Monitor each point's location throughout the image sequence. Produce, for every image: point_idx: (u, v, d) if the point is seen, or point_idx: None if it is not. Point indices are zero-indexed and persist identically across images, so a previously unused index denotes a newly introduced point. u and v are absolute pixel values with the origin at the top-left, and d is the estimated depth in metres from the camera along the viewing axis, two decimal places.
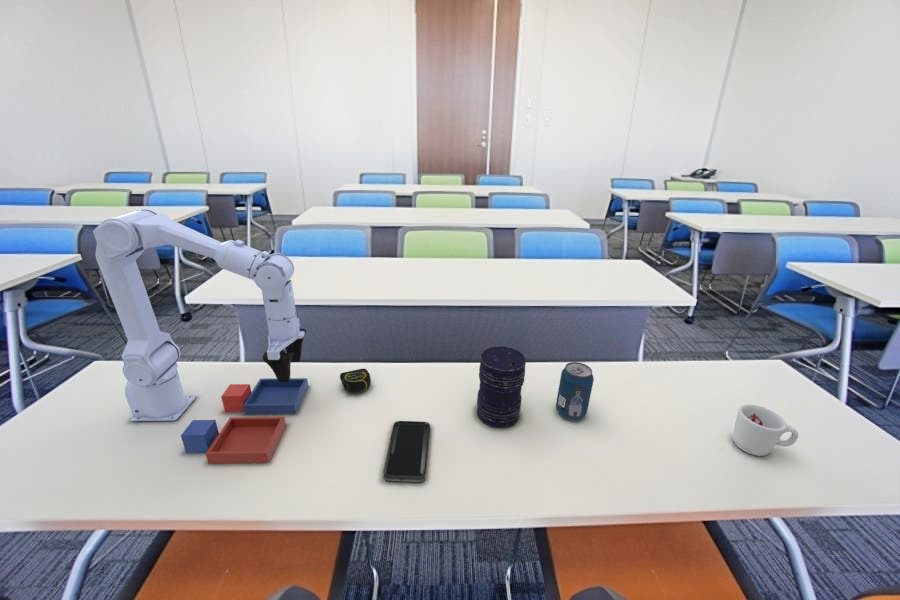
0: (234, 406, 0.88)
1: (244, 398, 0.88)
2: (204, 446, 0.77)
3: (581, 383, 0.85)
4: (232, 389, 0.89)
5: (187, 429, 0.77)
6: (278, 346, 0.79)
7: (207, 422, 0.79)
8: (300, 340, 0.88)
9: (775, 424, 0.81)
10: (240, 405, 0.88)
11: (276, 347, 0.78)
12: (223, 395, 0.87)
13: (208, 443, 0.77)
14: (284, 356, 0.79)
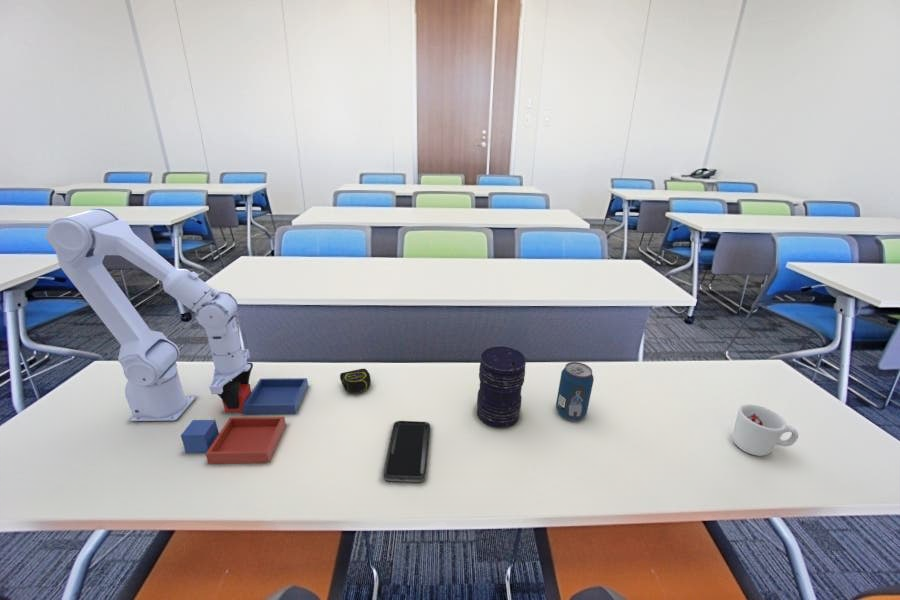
0: None
1: (244, 398, 0.88)
2: (204, 446, 0.77)
3: (581, 383, 0.85)
4: None
5: (187, 429, 0.77)
6: (222, 380, 0.82)
7: (207, 422, 0.79)
8: (246, 374, 0.90)
9: (775, 424, 0.81)
10: (240, 405, 0.88)
11: (219, 381, 0.82)
12: None
13: (208, 443, 0.77)
14: (231, 386, 0.84)
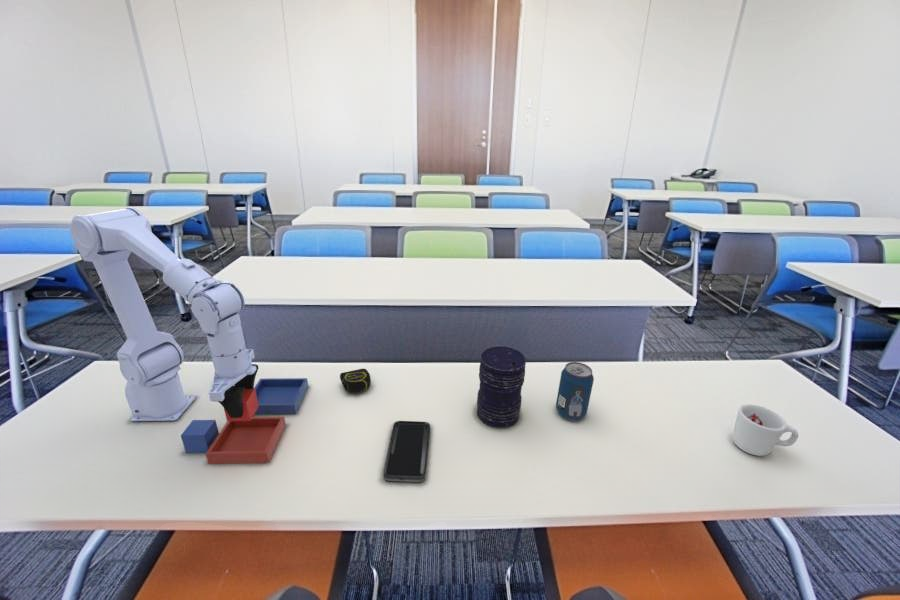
0: None
1: (249, 405, 0.77)
2: (204, 446, 0.77)
3: (581, 383, 0.85)
4: None
5: (187, 429, 0.77)
6: (223, 385, 0.70)
7: (207, 422, 0.79)
8: (251, 378, 0.79)
9: (775, 424, 0.81)
10: (244, 414, 0.76)
11: (220, 386, 0.70)
12: None
13: (208, 443, 0.77)
14: (234, 391, 0.72)
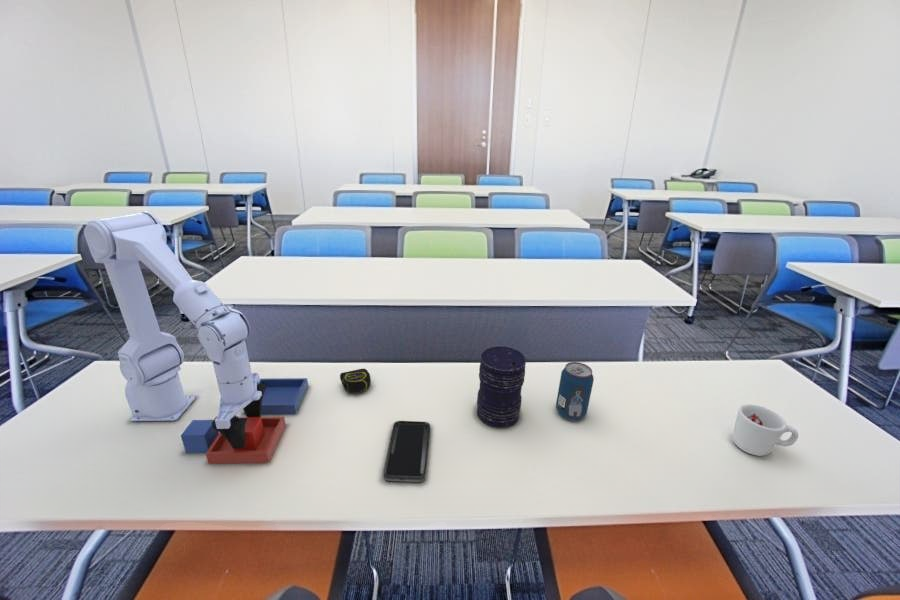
0: None
1: (255, 434, 0.78)
2: (204, 446, 0.77)
3: (581, 383, 0.85)
4: None
5: (187, 429, 0.77)
6: (229, 412, 0.71)
7: (207, 422, 0.79)
8: None
9: (775, 424, 0.81)
10: (251, 442, 0.77)
11: (226, 414, 0.70)
12: None
13: (208, 443, 0.77)
14: (236, 423, 0.71)
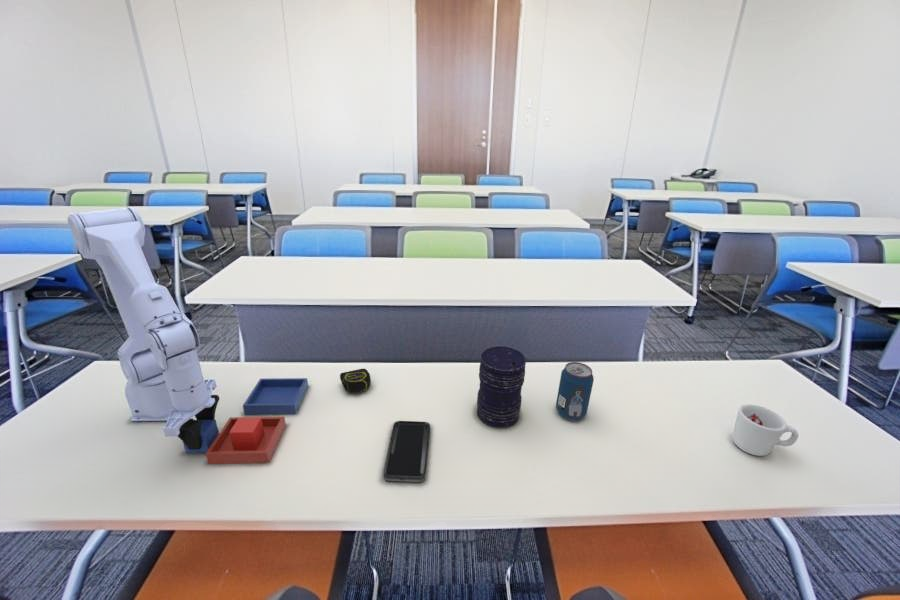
0: (244, 443, 0.77)
1: (255, 434, 0.78)
2: (204, 446, 0.77)
3: (581, 383, 0.85)
4: (242, 424, 0.78)
5: None
6: (179, 420, 0.71)
7: (207, 421, 0.79)
8: (211, 409, 0.79)
9: (775, 424, 0.81)
10: (251, 442, 0.77)
11: (176, 421, 0.70)
12: (231, 431, 0.76)
13: (208, 443, 0.77)
14: (190, 425, 0.73)
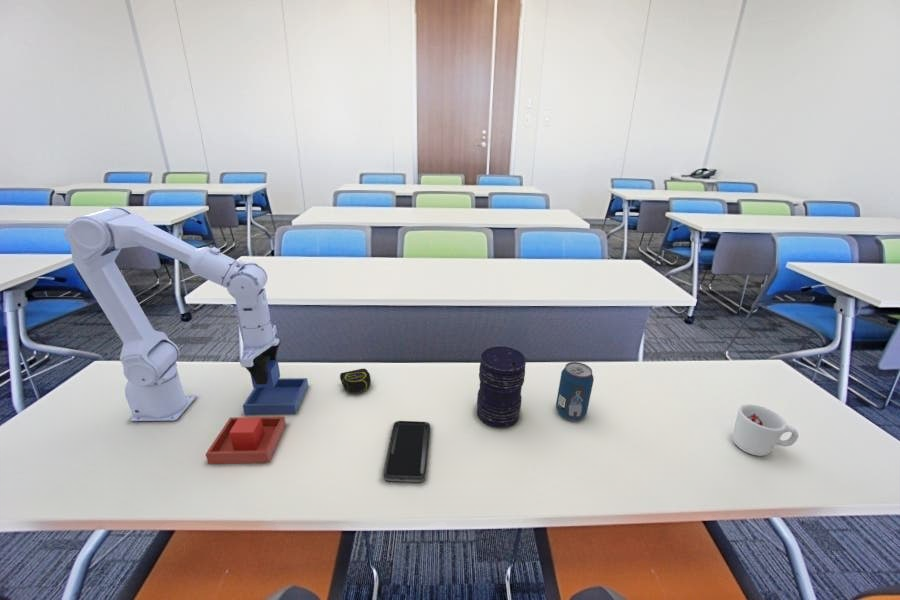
0: (244, 443, 0.77)
1: (255, 434, 0.78)
2: (270, 381, 0.86)
3: (581, 383, 0.85)
4: (242, 424, 0.78)
5: None
6: (252, 353, 0.80)
7: (270, 361, 0.89)
8: (274, 350, 0.88)
9: (775, 424, 0.81)
10: (251, 442, 0.77)
11: (250, 354, 0.80)
12: (231, 431, 0.76)
13: (273, 379, 0.87)
14: (261, 360, 0.82)
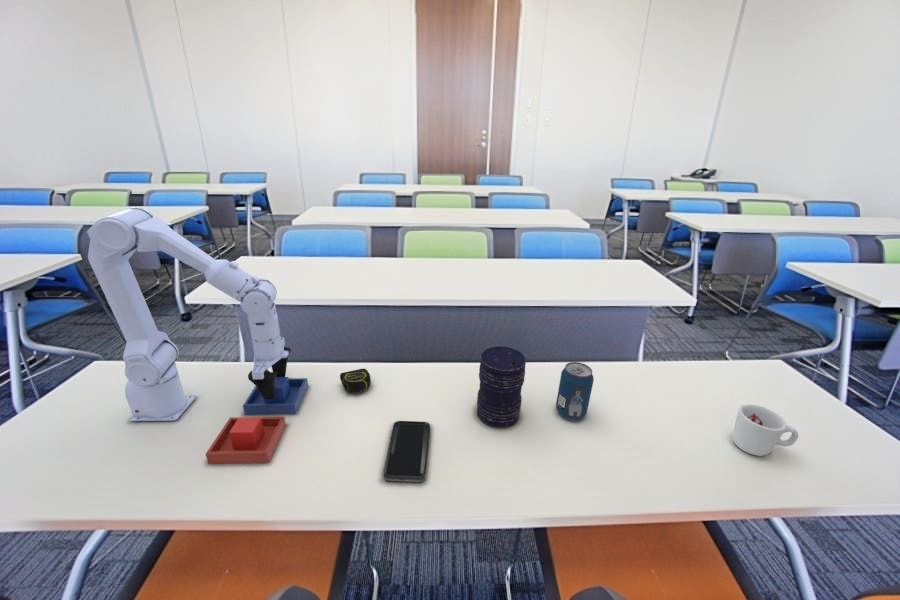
0: (244, 443, 0.77)
1: (255, 434, 0.78)
2: (281, 398, 0.90)
3: (581, 383, 0.85)
4: (242, 424, 0.78)
5: None
6: (262, 366, 0.84)
7: (281, 378, 0.92)
8: (285, 358, 0.93)
9: (775, 424, 0.81)
10: (251, 442, 0.77)
11: (260, 367, 0.83)
12: (231, 431, 0.76)
13: (284, 396, 0.91)
14: (268, 375, 0.84)
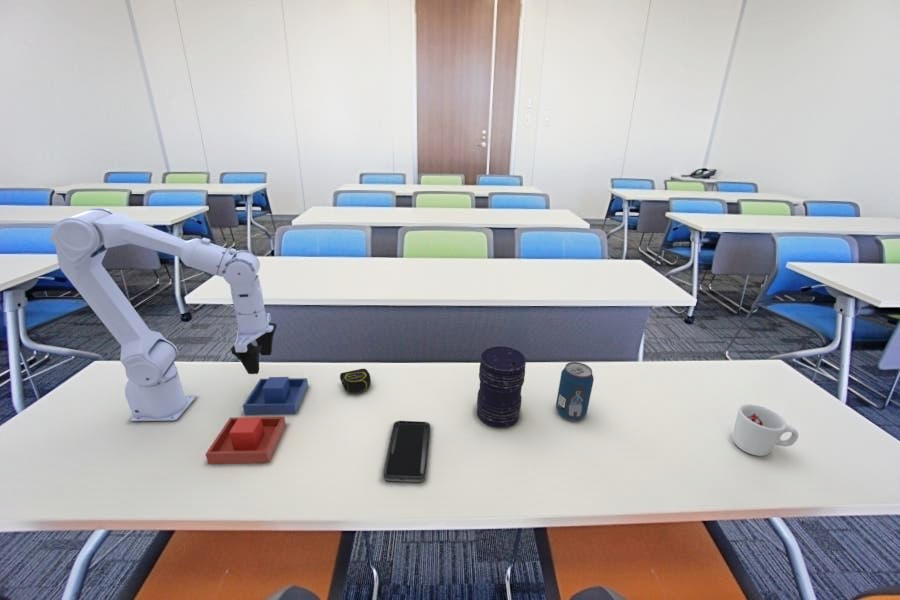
0: (244, 443, 0.77)
1: (255, 434, 0.78)
2: (281, 398, 0.90)
3: (581, 383, 0.85)
4: (242, 424, 0.78)
5: (266, 383, 0.90)
6: (246, 339, 0.82)
7: (281, 378, 0.92)
8: (270, 334, 0.91)
9: (775, 424, 0.81)
10: (251, 442, 0.77)
11: (244, 340, 0.81)
12: (231, 431, 0.76)
13: (284, 396, 0.91)
14: (252, 349, 0.82)
